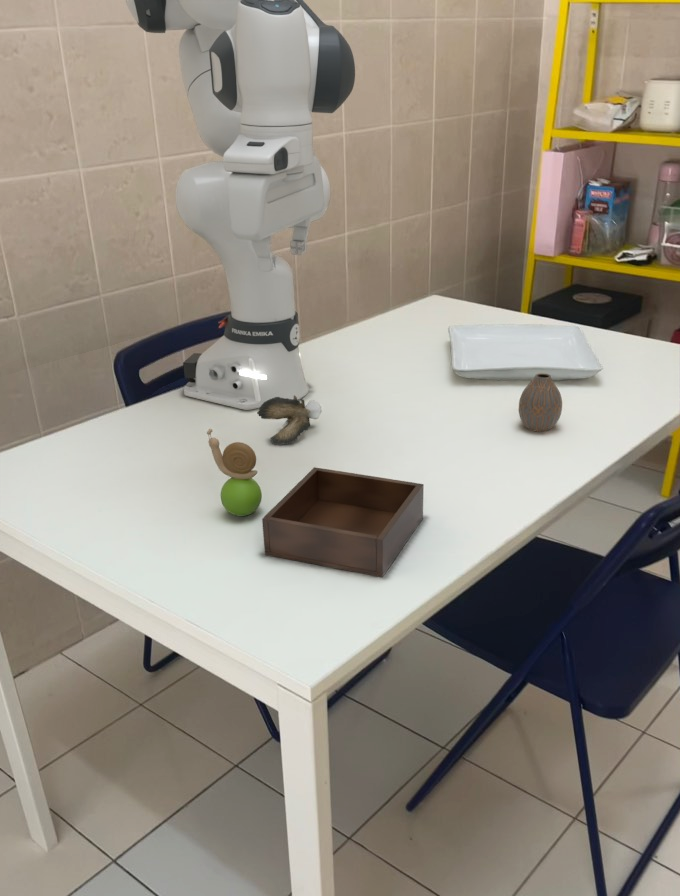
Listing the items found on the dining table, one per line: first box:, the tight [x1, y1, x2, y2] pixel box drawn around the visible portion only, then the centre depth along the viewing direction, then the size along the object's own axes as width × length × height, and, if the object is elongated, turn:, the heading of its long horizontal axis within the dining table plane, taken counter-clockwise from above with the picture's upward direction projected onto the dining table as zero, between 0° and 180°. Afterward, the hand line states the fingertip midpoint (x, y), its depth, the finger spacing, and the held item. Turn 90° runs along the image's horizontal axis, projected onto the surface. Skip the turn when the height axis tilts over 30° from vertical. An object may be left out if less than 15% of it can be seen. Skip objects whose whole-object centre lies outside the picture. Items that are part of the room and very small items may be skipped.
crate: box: [261, 466, 425, 578], centre depth 111 cm, size 16×16×5 cm
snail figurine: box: [206, 428, 263, 517], centre depth 115 cm, size 5×6×12 cm
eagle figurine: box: [257, 395, 323, 446], centre depth 140 cm, size 8×7×9 cm
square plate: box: [447, 323, 604, 381], centre depth 170 cm, size 27×27×4 cm
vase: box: [518, 373, 563, 432], centre depth 141 cm, size 7×7×9 cm
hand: (283, 261), depth 116 cm, fingers open, 8 cm apart
